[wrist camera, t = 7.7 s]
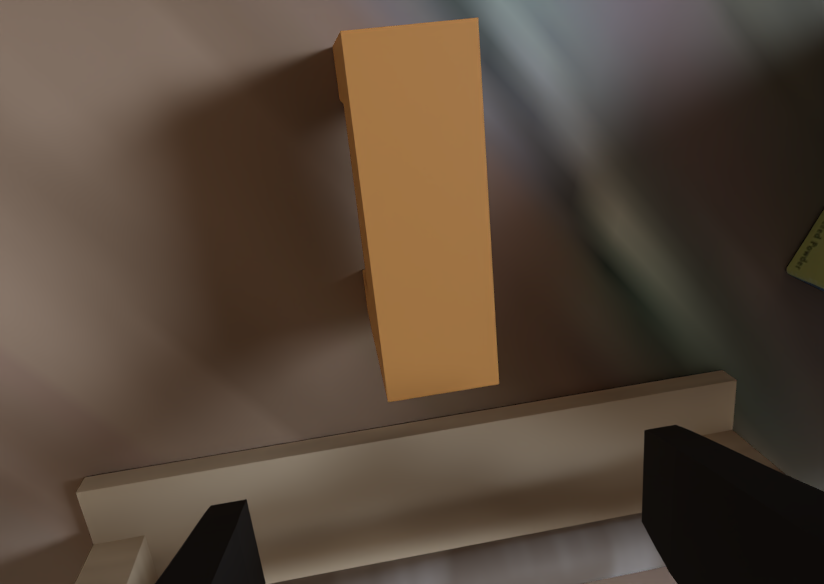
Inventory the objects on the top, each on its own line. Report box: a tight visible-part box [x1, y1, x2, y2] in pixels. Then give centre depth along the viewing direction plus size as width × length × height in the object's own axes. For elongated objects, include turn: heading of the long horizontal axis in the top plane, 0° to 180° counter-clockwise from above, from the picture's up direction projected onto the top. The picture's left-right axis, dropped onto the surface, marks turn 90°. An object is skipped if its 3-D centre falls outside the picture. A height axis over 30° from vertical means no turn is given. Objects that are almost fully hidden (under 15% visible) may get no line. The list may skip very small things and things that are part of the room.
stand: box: [75, 370, 786, 584], centre depth 19 cm, size 6×22×5 cm, turn 96°
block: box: [333, 18, 499, 402], centre depth 15 cm, size 8×3×6 cm, turn 6°
